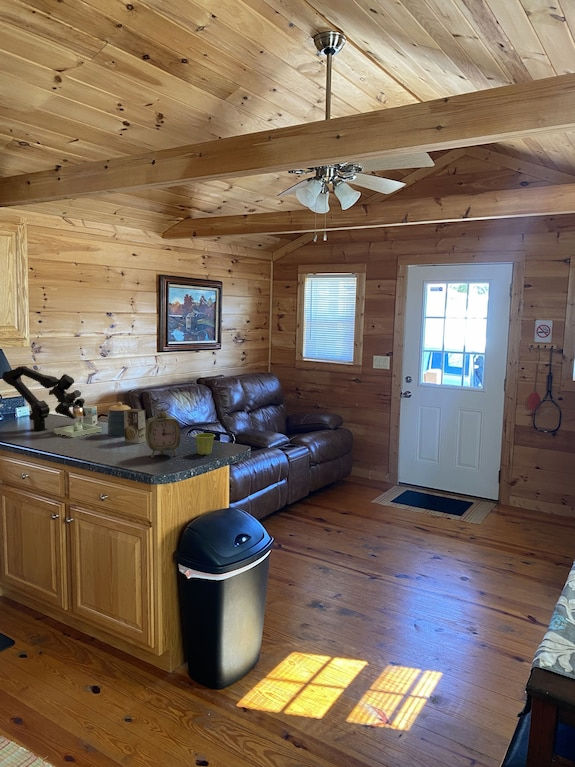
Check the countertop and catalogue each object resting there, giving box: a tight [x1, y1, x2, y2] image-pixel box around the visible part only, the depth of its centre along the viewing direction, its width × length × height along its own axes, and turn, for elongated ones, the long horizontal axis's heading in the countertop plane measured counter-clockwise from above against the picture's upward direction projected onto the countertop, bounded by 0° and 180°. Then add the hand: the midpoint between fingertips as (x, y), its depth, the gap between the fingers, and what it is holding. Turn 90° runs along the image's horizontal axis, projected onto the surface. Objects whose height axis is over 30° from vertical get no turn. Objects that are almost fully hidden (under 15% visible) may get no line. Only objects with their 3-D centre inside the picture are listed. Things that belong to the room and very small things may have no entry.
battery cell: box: [72, 406, 83, 432], centre depth 309 cm, size 5×5×14 cm
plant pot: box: [194, 432, 216, 456], centre depth 269 cm, size 9×9×9 cm
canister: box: [106, 401, 132, 438], centre depth 306 cm, size 13×13×18 cm
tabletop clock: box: [145, 401, 181, 459], centre depth 263 cm, size 14×9×25 cm, turn 114°
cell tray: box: [54, 424, 103, 438], centre depth 309 cm, size 16×18×3 cm
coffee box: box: [124, 408, 147, 444], centre depth 291 cm, size 9×6×16 cm
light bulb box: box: [83, 405, 98, 426], centre depth 330 cm, size 11×7×11 cm, turn 84°
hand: (80, 417), depth 308 cm, fingers open, 9 cm apart
